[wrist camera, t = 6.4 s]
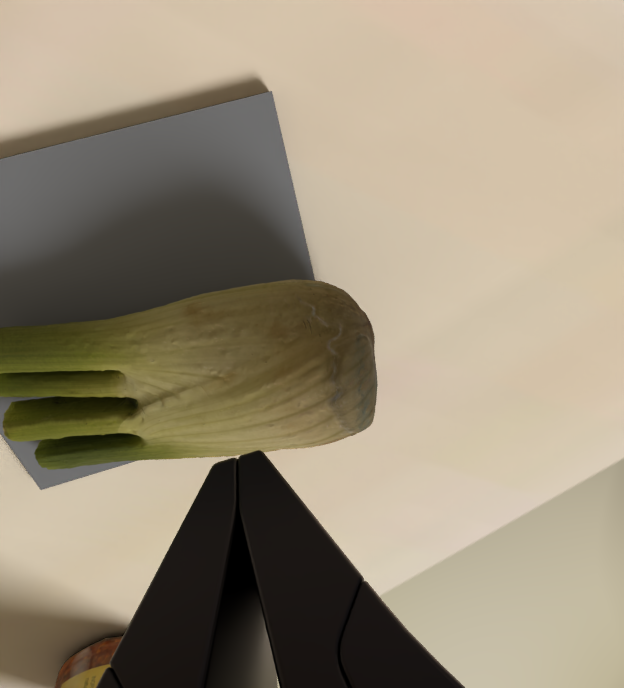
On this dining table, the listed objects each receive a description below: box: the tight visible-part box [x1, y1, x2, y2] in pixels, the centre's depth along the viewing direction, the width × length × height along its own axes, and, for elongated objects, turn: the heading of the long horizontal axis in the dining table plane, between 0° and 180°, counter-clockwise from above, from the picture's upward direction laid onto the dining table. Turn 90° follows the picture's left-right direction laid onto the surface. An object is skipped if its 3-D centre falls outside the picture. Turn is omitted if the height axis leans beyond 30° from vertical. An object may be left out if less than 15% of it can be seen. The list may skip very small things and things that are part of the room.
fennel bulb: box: [0, 279, 377, 470], centre depth 15 cm, size 6×5×12 cm
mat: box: [0, 91, 315, 490], centre depth 15 cm, size 12×11×1 cm
